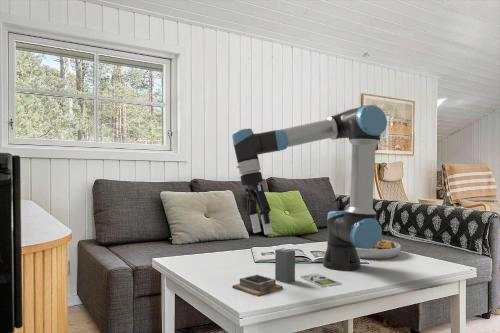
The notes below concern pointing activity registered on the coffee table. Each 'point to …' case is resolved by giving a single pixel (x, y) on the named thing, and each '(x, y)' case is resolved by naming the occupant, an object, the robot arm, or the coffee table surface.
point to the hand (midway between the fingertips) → (263, 233)
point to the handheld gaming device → (320, 280)
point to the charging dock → (257, 285)
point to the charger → (285, 265)
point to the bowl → (380, 250)
